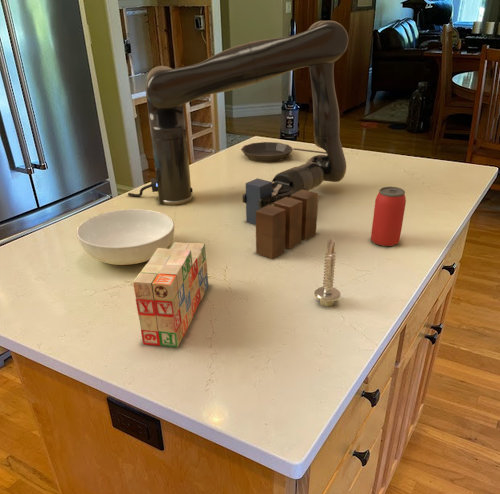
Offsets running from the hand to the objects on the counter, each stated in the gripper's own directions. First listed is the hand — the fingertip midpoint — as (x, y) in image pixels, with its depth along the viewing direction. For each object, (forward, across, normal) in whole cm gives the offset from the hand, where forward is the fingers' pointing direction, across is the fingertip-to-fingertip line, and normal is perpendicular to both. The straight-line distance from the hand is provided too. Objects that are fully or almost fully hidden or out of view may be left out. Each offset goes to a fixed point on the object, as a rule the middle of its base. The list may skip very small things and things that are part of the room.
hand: (252, 201), depth 125 cm
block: (-3, 0, +6) cm, 7 cm away
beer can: (-11, +31, +6) cm, 33 cm away
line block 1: (+10, +14, +6) cm, 18 cm away
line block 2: (+4, +14, +6) cm, 15 cm away
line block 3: (-3, +14, +6) cm, 15 cm away
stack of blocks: (+40, +16, +6) cm, 44 cm away
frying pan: (-50, -28, +6) cm, 58 cm away
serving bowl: (+30, -11, +6) cm, 32 cm away
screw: (+20, +35, +6) cm, 41 cm away
